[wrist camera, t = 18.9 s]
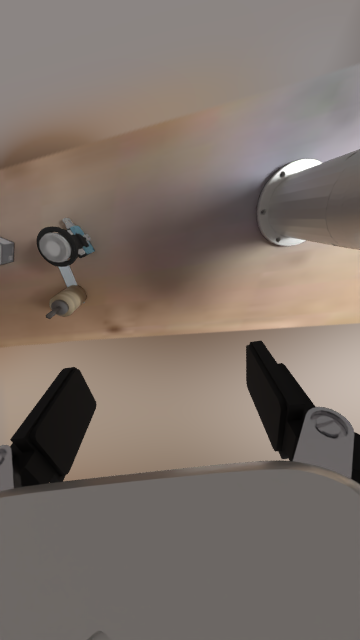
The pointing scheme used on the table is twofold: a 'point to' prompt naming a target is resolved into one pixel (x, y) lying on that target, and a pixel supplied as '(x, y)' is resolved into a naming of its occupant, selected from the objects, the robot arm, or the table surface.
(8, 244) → the label tape cartridge
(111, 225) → the table surface
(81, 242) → the push button
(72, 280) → the flat metal tool blade
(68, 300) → the awl
